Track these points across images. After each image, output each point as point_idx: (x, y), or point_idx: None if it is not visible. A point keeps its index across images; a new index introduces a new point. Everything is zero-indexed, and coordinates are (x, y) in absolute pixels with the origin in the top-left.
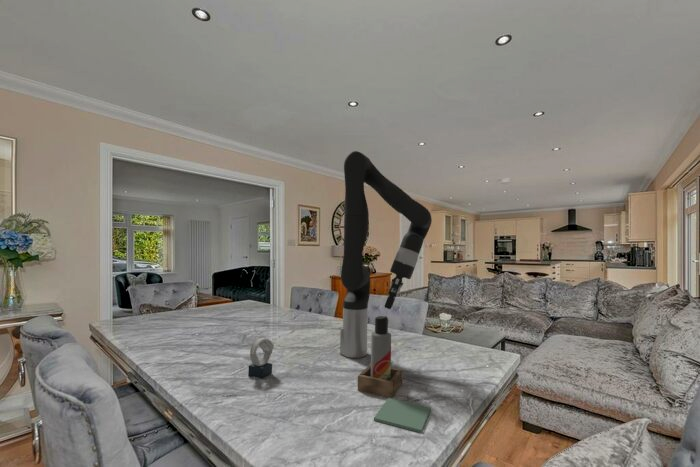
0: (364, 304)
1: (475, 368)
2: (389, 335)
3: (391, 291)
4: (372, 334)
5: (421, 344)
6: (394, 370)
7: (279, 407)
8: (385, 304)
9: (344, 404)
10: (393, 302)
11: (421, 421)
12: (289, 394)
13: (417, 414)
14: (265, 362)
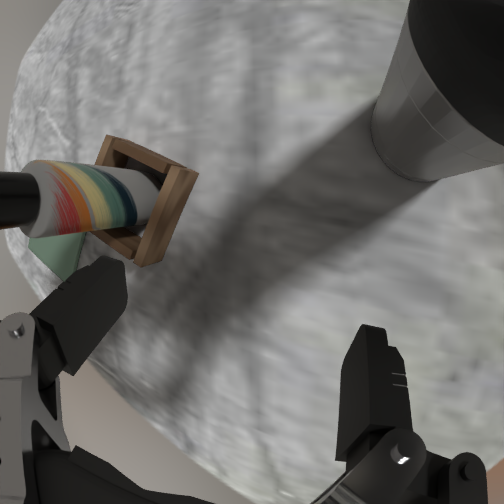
0: (466, 91)
1: (270, 470)
2: (20, 228)
3: (30, 394)
4: (27, 164)
5: (487, 405)
6: (141, 242)
7: (92, 25)
8: (92, 268)
9: (83, 122)
10: (339, 408)
11: (40, 254)
12: (128, 16)
13: (51, 253)
14: None
